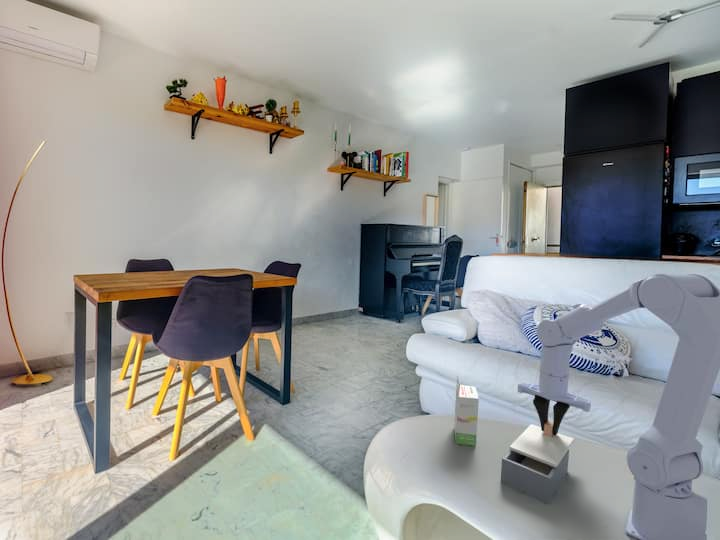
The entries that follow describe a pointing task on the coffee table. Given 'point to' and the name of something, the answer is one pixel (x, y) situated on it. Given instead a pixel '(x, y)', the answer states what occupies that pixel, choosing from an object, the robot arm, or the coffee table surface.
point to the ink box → (466, 414)
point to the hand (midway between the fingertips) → (549, 431)
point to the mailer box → (533, 475)
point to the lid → (542, 444)
